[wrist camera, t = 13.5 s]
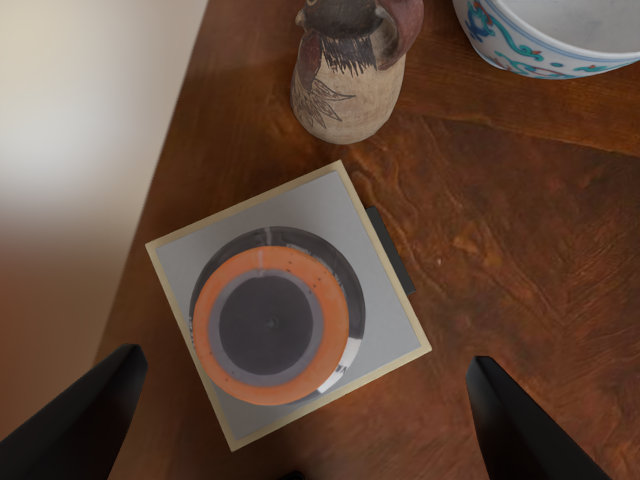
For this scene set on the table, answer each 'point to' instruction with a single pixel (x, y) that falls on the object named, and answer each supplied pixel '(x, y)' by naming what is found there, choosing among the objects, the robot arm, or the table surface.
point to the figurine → (351, 65)
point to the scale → (347, 237)
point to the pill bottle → (277, 316)
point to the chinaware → (553, 35)
